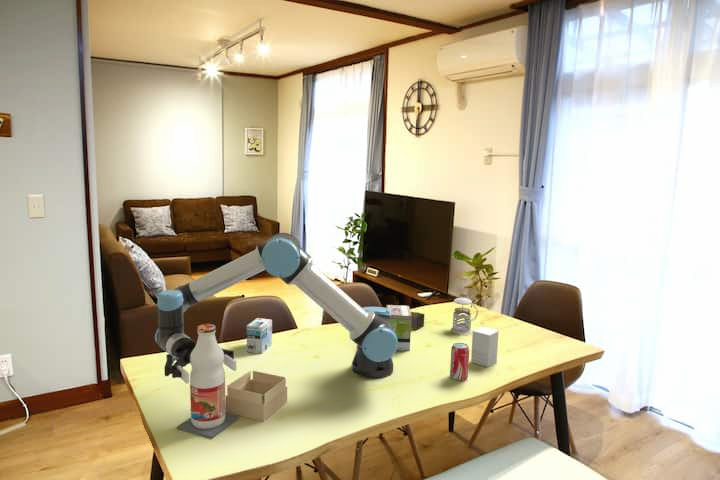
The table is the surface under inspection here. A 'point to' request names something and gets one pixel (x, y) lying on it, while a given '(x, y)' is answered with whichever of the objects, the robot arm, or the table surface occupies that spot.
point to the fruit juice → (207, 380)
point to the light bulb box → (259, 335)
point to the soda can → (459, 361)
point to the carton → (256, 395)
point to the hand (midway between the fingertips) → (212, 372)
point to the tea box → (401, 325)
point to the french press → (462, 316)
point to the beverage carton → (417, 320)
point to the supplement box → (484, 346)
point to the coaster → (210, 432)
